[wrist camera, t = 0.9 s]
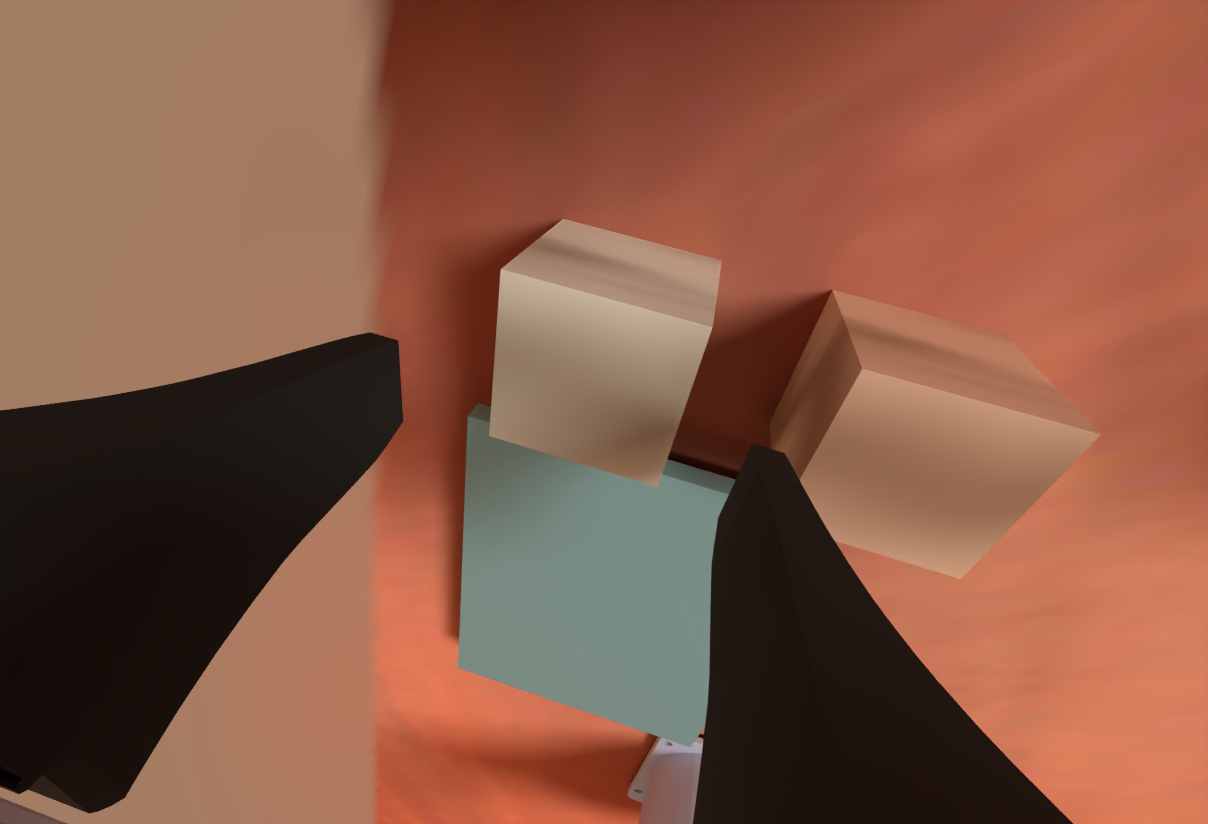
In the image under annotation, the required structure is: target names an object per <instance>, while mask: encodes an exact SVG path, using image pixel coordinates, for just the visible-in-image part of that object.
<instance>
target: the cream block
mask: <svg viewBox="0 0 1208 824" xmlns="http://www.w3.org/2000/svg"><path fill="white" fill-rule="evenodd" d="M721 263H722V261H721V260H718V259H714V258H710V257H706V256H702V255H699V254H695V253H691V252H687V251H683V250H680V249H676V248H672V247H668V246H664V245H661V244H657V243H653V242H649V241H645V240H642V239H638V238H634V237H630V236H626V235H623V234H619V233H615V232H611V231H607V230H604V229H600V228H596V227H592V226H588V225H585V224H581V223H577V222H573V221H569V220H566V219H562V220H561V221H560V222H559V223H557V224H556V225H555V226H554V227H552V228H551V229H550V230H549V231H547V232H546V233H545V234H544V235H542V236H541V237H540V238H539V239H538V240H536V241H535V242H534V243H533V244H531V245H530V246H529V247H528V248H526V249H525V250H524V251H523V252H521V253H520V254H519V255H518V256H516V257H515V258H514V259H513V260H511V261H510V262H509V263H508V264H506V265H505V266H504V267H503V268H501V273H500V287H499V301H498V315H497V330H496V344H495V358H494V372H493V386H492V401H491V415H490V429H489V436H491V437H494V438H497V439H501V440H504V441H507V442H511V443H514V444H517V445H520V446H524V447H527V448H530V449H534V450H537V451H540V452H544V453H547V454H550V455H553V456H557V457H560V458H563V459H567V460H570V461H573V462H577V463H580V464H583V465H586V466H590V467H593V468H596V469H600V470H603V471H606V472H609V473H613V474H616V475H619V476H623V477H626V478H629V479H633V480H636V481H639V482H642V483H646V484H649V485H652V486H656V487H658V485H659V482H660V479H661V476H662V473H663V470H664V467H665V464H666V461H667V458H668V455H669V453H670V450H671V447H672V444H673V441H674V438H675V435H676V432H677V429H678V426H679V424H680V421H681V418H682V415H683V412H684V409H685V406H686V403H687V400H688V397H689V395H690V392H691V389H692V386H693V383H694V380H695V377H696V374H697V371H698V368H699V365H700V363H701V360H702V357H703V354H704V351H705V348H706V345H707V342H708V339H709V336H710V334H711V331H712V328H713V321H714V314H715V307H716V300H717V292H718V285H719V278H720V271H721Z"/></svg>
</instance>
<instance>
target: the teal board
mask: <svg viewBox="0 0 1208 824" xmlns="http://www.w3.org/2000/svg"><path fill="white" fill-rule="evenodd" d="M490 415H491V406H487V405H484V404H480V403H478V404H477V405H476V406H475V408H474V409H473V410H472V411H471V412H470V414H469V415H468V421H467V447H466V474H465V500H464V527H463V553H462V580H461V607H460V633H459V660H458V668H460V669H463V670H466V671H469V672H472V673H475V674H478V675H481V676H484V677H487V678H490V679H492V680H495V681H498V682H501V683H504V684H507V685H510V686H513V687H516V688H519V689H521V690H524V691H527V692H530V693H533V694H536V695H539V696H542V697H545V698H548V699H551V700H553V701H556V702H559V703H562V704H565V705H568V706H571V707H574V708H577V709H580V710H583V711H585V712H588V713H591V714H594V715H597V716H600V717H603V718H606V719H609V720H612V721H615V722H617V723H620V724H623V725H626V726H629V727H632V728H635V729H638V730H641V731H644V732H647V733H649V734H652V735H655V736H658V737H661V738H664V739H667V740H670V741H673V742H676V743H678V744H681V745H684V746H687V747H691V746H692V744H693V743H694V742H695V740H696V739H697V737H698V736H699V734H700V733H701V731H702V730H703V728H704V727H705V721H706V713H707V704H708V689H709V665H710V604H711V564H712V556H713V549H714V542H715V535H716V529H717V522H718V517H719V515H720V512H721V510H722V508H723V506H724V504H725V502H726V500H727V497H728V495H729V493H730V491H731V489H732V487H733V485H734V482H735V479H732V478H729V477H725V476H722V475H719V474H715V473H712V472H708V471H705V470H702V469H698V468H695V467H692V466H688V465H685V464H682V463H678V462H675V461H672V460H668V459H667V461H666V464H665V467H664V470H663V473H662V476H661V479H660V482H659V485H658V487H656V486H652V485H649V484H646V483H642V482H639V481H636V480H633V479H629V478H626V477H623V476H619V475H616V474H613V473H609V472H606V471H603V470H600V469H596V468H593V467H590V466H586V465H583V464H580V463H577V462H573V461H570V460H567V459H563V458H560V457H557V456H553V455H550V454H547V453H544V452H540V451H537V450H534V449H530V448H527V447H524V446H520V445H517V444H514V443H511V442H507V441H504V440H501V439H497V438H494V437H491V436H489V429H490Z"/></svg>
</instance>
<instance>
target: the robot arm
mask: <svg viewBox="0 0 1208 824" xmlns="http://www.w3.org/2000/svg"><path fill="white" fill-rule="evenodd" d="M402 422H403V413H402V396H401V379H400V361H399V344H398V340H394V339H391V338H387V337H384V336H381V335H377V334H374V333H365V334H360V335H356V336H351V337H347V338H343V339H339V340H335V341H332V342H328V343H325V344H321V345H318V346H314V347H310V348H307V349H303V350H300V351H296V352H293V353H289V354H286V355H282V356H279V357H275V358H272V359H268V360H265V361H261V362H258V363H254V364H251V365H247V366H242V367H238V368H234V369H230V370H227V371H222V372H218V373H214V374H211V375H207V376H203V377H199V378H195V379H191V380H186V381H182V382H177V383H173V384H168V385H164V386H158V387H153V388H149V389H143V390H138V391H133V392H127V393H121V394H116V395H110V396H104V397H98V398H92V399H84V400H77V401H69V402H62V403H54V404H47V405H40V406H33V407H25V408H18V409H10V410H1V411H0V787H2V788H5V789H7V790H10V791H13V792H15V793H18V794H20V793H22V792H24V791H26V790H30V791H33V792H36V793H38V794H41V795H43V796H46V797H48V798H51V799H54V800H56V801H59V802H61V803H64V804H66V805H69V806H71V807H74V808H77V809H79V810H82V811H84V812H87V813H93V812H98V811H100V810H102V809H105V808H107V807H109V806H112V805H113V804H115V803H117V802H118V801H120V800H122V799H123V798H125V797H126V795H127V793H128V792H129V790H130V788H131V786H132V785H133V783H134V781H135V780H136V778H137V776H138V774H139V773H140V771H141V770H142V768H143V766H144V765H145V763H146V761H147V760H148V758H149V756H150V755H151V753H152V752H153V749H154V748H155V747H156V745H157V744H158V742H159V740H160V738H161V737H162V735H163V734H164V732H165V731H166V729H167V727H168V726H169V724H170V723H171V721H172V719H173V717H174V716H175V714H176V713H177V711H178V710H179V708H180V707H181V705H182V704H183V702H184V701H185V699H186V697H187V696H188V695H189V693H190V691H191V690H192V689H193V687H194V686H195V684H196V682H197V681H198V680H199V678H200V676H201V675H202V673H203V672H204V671H205V669H206V667H207V666H208V665H209V663H210V661H211V660H212V659H213V657H214V655H215V654H216V653H217V651H218V650H219V648H220V647H221V646H222V644H223V643H224V641H225V640H226V639H227V637H228V636H229V634H230V633H231V631H232V630H233V629H234V627H235V626H236V625H237V623H238V621H239V620H240V619H241V618H242V616H243V615H244V613H245V612H246V611H247V609H248V608H249V606H250V605H251V604H252V602H253V601H254V600H255V598H256V597H257V596H258V594H259V593H260V592H261V590H262V589H263V588H264V586H265V585H266V584H267V582H268V581H269V580H270V578H271V577H272V576H273V574H274V573H275V572H276V571H277V569H278V568H279V567H280V565H281V564H282V563H283V562H284V560H285V559H286V558H287V557H288V556H289V554H290V553H291V552H292V551H293V550H294V549H295V547H296V546H297V545H298V544H299V543H300V542H301V540H302V539H303V538H304V537H305V536H306V535H307V534H308V533H309V532H310V531H311V530H312V529H313V528H314V527H315V525H316V524H317V523H318V522H319V521H320V520H321V519H322V518H323V517H324V516H325V515H326V514H327V513H328V512H329V511H330V509H331V508H332V507H333V506H334V505H335V504H336V503H337V502H338V501H339V500H340V499H341V498H342V497H343V496H344V495H345V494H346V492H347V491H348V490H349V489H350V488H351V487H352V486H353V485H354V484H355V483H356V482H357V481H358V480H359V478H360V477H361V476H362V475H363V474H364V473H365V472H366V471H367V470H368V469H369V467H370V466H371V465H372V464H373V463H374V462H375V461H376V460H377V458H378V457H379V456H380V454H381V453H382V451H383V450H384V449H385V447H386V446H387V444H388V443H389V442H390V440H391V439H392V437H393V436H394V434H395V433H396V431H397V430H398V428H399V427H400V425H401V424H402ZM627 795H628V797H629V798H631V799H633V800H636V801H638V802H641V803H642V807H641V814H640V821H639V824H1073V823H1072V822H1071V821H1070V820H1069V819H1068V818H1067V817H1066V816H1065V815H1064V814H1063V813H1062V812H1061V811H1060V810H1059V809H1058V808H1057V807H1056V806H1055V805H1054V804H1053V803H1052V802H1051V801H1050V800H1049V799H1048V798H1047V797H1046V796H1045V795H1044V794H1043V793H1042V792H1041V791H1040V790H1039V789H1038V788H1037V787H1036V786H1035V785H1034V784H1033V783H1032V782H1031V781H1030V780H1029V779H1028V778H1027V777H1026V776H1025V775H1024V774H1023V773H1022V772H1021V771H1020V770H1019V769H1018V768H1017V767H1016V766H1015V765H1014V764H1013V763H1012V762H1011V761H1010V760H1009V759H1008V758H1007V757H1006V756H1005V755H1004V753H1003V752H1002V751H1001V750H1000V749H999V748H998V747H997V746H996V745H995V744H994V743H993V742H992V741H991V740H990V739H989V738H988V737H987V736H986V734H985V733H984V732H983V731H982V730H981V729H980V728H979V727H978V726H977V725H976V724H975V723H974V721H973V720H972V719H971V718H970V717H969V716H968V715H967V714H966V712H965V711H964V710H963V709H962V708H961V707H960V706H959V705H958V703H957V702H956V701H955V700H954V699H953V698H952V697H951V696H950V694H949V693H948V692H947V691H946V690H945V689H944V688H943V687H942V685H941V684H940V683H939V682H938V681H937V680H936V679H935V677H934V676H933V675H932V674H931V673H930V671H929V670H928V669H927V668H926V667H925V665H924V664H923V663H922V662H921V661H920V659H919V658H918V657H917V656H916V655H915V653H914V652H913V651H912V649H911V648H910V647H909V646H908V644H907V643H906V642H905V641H904V639H903V638H902V637H901V635H900V634H899V633H898V632H897V630H896V629H895V628H894V626H893V625H892V624H891V623H890V621H889V620H888V619H887V617H886V616H885V615H884V613H883V612H882V611H881V609H880V608H879V607H878V605H877V604H876V603H875V601H874V600H873V598H872V597H871V596H870V594H869V593H868V591H867V590H866V588H865V587H864V585H863V584H862V582H861V581H860V579H859V578H858V576H857V575H856V573H855V572H854V571H853V569H852V568H851V566H850V565H849V563H848V562H847V560H846V558H845V557H844V555H843V554H842V552H841V551H840V549H839V547H838V546H837V544H836V543H835V541H834V539H833V538H832V536H831V534H830V533H829V531H828V529H827V528H826V526H825V524H824V523H823V521H822V519H821V517H820V516H819V514H818V512H817V511H816V509H815V507H814V505H813V503H812V502H811V500H810V498H809V496H808V494H807V493H806V491H805V489H804V487H803V485H802V484H801V482H800V480H799V478H798V476H797V474H796V473H795V471H794V469H793V467H792V465H791V463H790V462H789V460H788V458H787V456H786V454H785V453H783V452H780V451H776V450H773V449H769V448H766V447H763V446H759V445H756V444H752V446H751V448H750V450H749V452H748V454H747V457H746V459H745V461H744V463H743V465H742V467H741V469H740V472H739V474H738V476H737V478H736V480H735V482H734V485H733V487H732V489H731V491H730V493H729V495H728V497H727V500H726V502H725V504H724V506H723V508H722V510H721V512H720V515H719V517H718V522H717V529H716V535H715V542H714V549H713V556H712V564H711V604H710V665H709V689H708V704H707V713H706V721H705V730H704V739H703V738H700V737H697V739H696V740H695V742H694V743H693V744H692V746H691V747H687V746H684V745H681V744H678V743H676V742H673V741H670V740H667V739H664V738H661V737H657V739H656V741H655V743H654V744H653V746H652V748H651V750H650V751H649V753H648V755H647V757H646V758H645V760H644V762H643V764H642V765H641V767H640V769H639V770H638V772H637V774H636V776H635V777H634V779H633V781H632V783H631V784H630V786H629V788H628V793H627ZM0 824H66V823H64V822H61V821H59V820H56V819H54V818H51V817H49V816H46V815H44V814H41V813H38V812H36V811H33V810H31V809H28V808H26V807H23V806H21V805H18V804H15V803H13V802H10V801H8V800H5V799H3V798H0Z"/></svg>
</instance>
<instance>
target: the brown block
mask: <svg viewBox="0 0 1208 824" xmlns="http://www.w3.org/2000/svg"><path fill="white" fill-rule="evenodd" d="M769 424H770V441H771V449H773V450H776V451H780V452H783V453H785V454H786V456H787V458H788V460H789V462H790V463H791V465H792V467H793V469H794V471H795V473H796V474H797V476H798V478H799V480H800V482H801V484H802V485H803V487H804V489H805V491H806V493H807V494H808V496H809V498H810V500H811V502H812V503H813V505H814V507H815V509H816V511H817V512H818V514H819V516H820V517H821V519H822V521H823V523H824V524H825V526H826V528H827V529H828V531H829V533H830V534H831V536H832V538H833V539H834V541H837V542H840V543H843V544H847V545H850V546H853V547H857V548H860V549H863V550H866V551H870V552H873V553H876V554H880V555H883V556H886V557H889V558H893V559H896V560H899V561H903V562H906V563H909V564H913V565H916V566H919V567H922V568H926V569H929V570H932V571H936V572H939V573H942V574H945V575H949V576H952V577H955V578H959V579H961V578H962V577H963V576H964V575H965V574H966V573H967V572H968V571H969V570H970V569H971V568H972V567H973V566H974V565H975V564H976V563H977V562H978V561H979V560H980V559H981V558H982V557H983V556H984V555H985V554H986V553H987V552H988V551H989V550H990V549H991V547H992V546H993V545H994V544H995V543H996V542H997V541H998V540H999V539H1000V538H1001V537H1002V536H1003V535H1004V534H1005V533H1006V532H1007V531H1008V530H1009V529H1010V528H1011V527H1012V526H1013V525H1014V524H1015V523H1016V522H1017V521H1018V520H1019V519H1020V518H1021V517H1022V516H1023V515H1024V514H1025V512H1026V511H1027V510H1028V509H1029V508H1030V507H1031V506H1032V505H1033V504H1034V503H1035V502H1036V501H1037V500H1038V499H1039V498H1040V497H1041V496H1042V495H1043V494H1044V493H1045V492H1046V491H1047V490H1048V489H1049V488H1050V487H1051V486H1052V485H1053V484H1054V483H1055V482H1056V481H1057V480H1058V479H1059V478H1060V476H1061V475H1062V474H1063V473H1064V472H1065V471H1066V470H1067V469H1068V468H1069V467H1070V466H1071V465H1072V464H1073V463H1074V462H1075V461H1076V460H1077V459H1078V458H1079V457H1080V456H1081V455H1082V454H1083V453H1084V452H1085V451H1086V450H1087V449H1088V448H1089V447H1090V446H1091V445H1092V444H1093V443H1094V441H1095V440H1096V439H1097V438H1098V437H1099V436H1100V435H1101V433H1100V432H1099V431H1098V430H1097V429H1096V428H1095V427H1094V426H1093V425H1092V424H1091V423H1090V422H1089V421H1088V420H1087V419H1086V418H1085V417H1084V416H1083V415H1082V414H1081V413H1080V412H1079V411H1078V410H1077V409H1076V408H1075V407H1074V406H1073V404H1072V403H1071V402H1070V401H1069V400H1068V399H1067V398H1066V397H1065V396H1064V395H1063V394H1062V393H1061V392H1060V391H1059V390H1058V389H1057V388H1056V387H1055V386H1054V385H1053V384H1052V383H1051V382H1050V381H1049V380H1048V379H1047V378H1046V377H1045V375H1044V374H1043V373H1042V372H1041V371H1040V370H1039V369H1038V368H1037V367H1036V366H1035V365H1034V364H1033V363H1032V362H1031V361H1030V360H1029V359H1028V358H1027V357H1026V356H1025V355H1024V354H1023V353H1022V352H1021V351H1020V350H1019V349H1018V348H1017V346H1016V345H1015V344H1014V343H1013V342H1012V341H1011V340H1010V339H1009V338H1008V337H1007V336H1006V335H1002V334H998V333H995V332H991V331H987V330H983V329H979V328H976V327H972V326H968V325H964V324H960V323H957V322H953V321H949V320H945V319H941V318H938V317H934V316H930V315H926V314H922V313H919V312H915V311H911V310H907V309H903V308H900V307H896V306H892V305H888V304H885V303H881V302H877V301H873V300H869V299H866V298H862V297H858V296H854V295H850V294H847V293H843V292H839V291H835V290H832V292H831V294H830V296H829V298H828V300H827V302H826V304H825V307H824V309H823V311H822V313H821V315H820V317H819V319H818V321H817V323H816V326H815V328H814V330H813V332H812V334H811V336H810V338H809V340H808V342H807V344H806V347H805V349H804V351H803V353H802V355H801V357H800V359H799V361H798V363H797V366H796V368H795V370H794V372H793V374H792V376H791V378H790V380H789V382H788V385H787V387H786V389H785V391H784V393H783V395H782V397H781V399H780V401H779V403H778V406H777V408H776V410H775V412H774V414H773V416H772V418H771V420H770V422H769Z"/></svg>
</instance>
